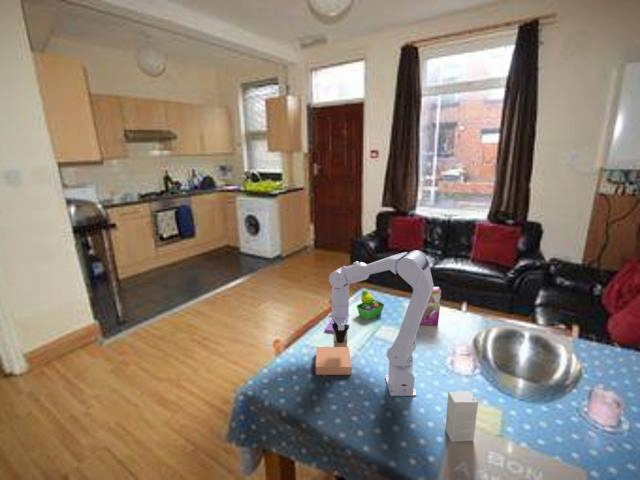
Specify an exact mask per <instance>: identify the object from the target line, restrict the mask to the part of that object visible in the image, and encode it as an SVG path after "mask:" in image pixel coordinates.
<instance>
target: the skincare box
mask: <svg viewBox="0 0 640 480" xmlns="http://www.w3.org/2000/svg"><path fill="white" fill-rule="evenodd" d="M478 405H479V402H478V400H477V398H476V397H475V395H474V394H473V393H472V391H471V390H468V391H467V390H465V391H463V390H462V391H448V395H447V405H446V415H445V429H444V430H445V432H446V434H447V436H448V438H449V440H450V442H451V443H454V442H473V441H474V440H475V432H476V422H477V414H478Z"/></svg>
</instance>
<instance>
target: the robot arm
mask: <svg viewBox="0 0 640 480" xmlns="http://www.w3.org/2000/svg"><path fill="white" fill-rule="evenodd" d="M386 271H390V272H392V273H393V274H394V275H397V274H398V276H400V277H401V278H402V279H403V280H404V281H405V282H406V283H407V284H408V285H410V286H411V288H412V294H411V298H410V299H409V303H408V306H407V308H406V312H405V314H404V316H403V317H404V318H403V320H402V322H401V325H400V328H399V332H398V334H397V336H396V338H395V339H394V341H393V344H392V345H391V346H390V347H389V348H388V349H387V352H386V357H387V359H388V361H389V362H388V374H385V375H384V378H385V380H386V385H387V387H388V391H389V395H390V396H392V397H394V396H395V397H405V396H406V397H408V396H410V397H412V396H417V392H416V389H415V375H414V373H413V363H414V362H413V361H414V358H413V355H412V354H413V353H414V351H415V350H416V346H417V344H416V339H417V333H418V330H419V328H420V322H421V320H422V317H423V314H424V312H425V309H426V306H427V304H428V301H429V298H430V296H431V293H432V290H433V287H435V286H434V285H435V284H434V282H433V281H434V280H433V275H432V272H431V261H430V260H429V259H428V257H427V255H426V254H425V253H424V252H423V251H420V250H415V249H414V250H412V251H410V252H408V251H406V252H400V253H397V254H394V255H393V254H392V255H391V256H388V257H385V258H382V259H379V260H376V261H373V262H370V263H365V262H363V261H360V262H359V261H358V260H357V261H355V262H353V263H352V264H351V265H348V266H346V265H343V266H341V267H339V268H337V269H336V270H333V271H332V272H331V273H330V274H329V276H328V281H329V282H328V283H330V286H331V312H329V313H328V318H330V319H333V321H334V323H332V327H333V330H334V331H335V334H336V340H337V343H343V342H344V339H345V335H346V332H347V333H348V330H349V329H350V324H347V323H346V321H347V320H348V321H349V317H350V313H349V311H350V310H349V308H350V304H349V303H350V302H349V301H350V285H351V284H355V283H358V282H359V283H360V282H363V281H366V280H368V279H369V277H370V275H373V274H378V273H381V272H386ZM413 289H414V291H413ZM345 323H346V325H345Z"/></svg>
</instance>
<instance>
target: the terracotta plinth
mask: <svg viewBox="0 0 640 480" xmlns="http://www.w3.org/2000/svg"><path fill="white" fill-rule="evenodd" d="M352 369H353V366H352V360H351V353H350V347H349V346H347V347H334V346H315V375H316V376H317V375H319V376H321V375H323V376H324V375H325V376H327V375H328V376H330V375H331V376H332V375H337V376H338V375H339V376H340V375H342V376H343V375H344V376H345V375H346V376H347V375H351V376H352V375H353V373H352Z"/></svg>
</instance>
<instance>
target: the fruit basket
mask: <svg viewBox="0 0 640 480" xmlns="http://www.w3.org/2000/svg"><path fill="white" fill-rule="evenodd" d="M384 306H385V304H384V303H382V302H380V301H379V300H376V299H374V296H373V295H372V293H370V292H369V290H366V289H363V290H362V292H361V303H359V304H357V305H356V308H357V312H358V315H359V317H361V318H362V319H365V320H370V319H373V318H375V317H377V316H380V315H382V312H383V310H384Z"/></svg>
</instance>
